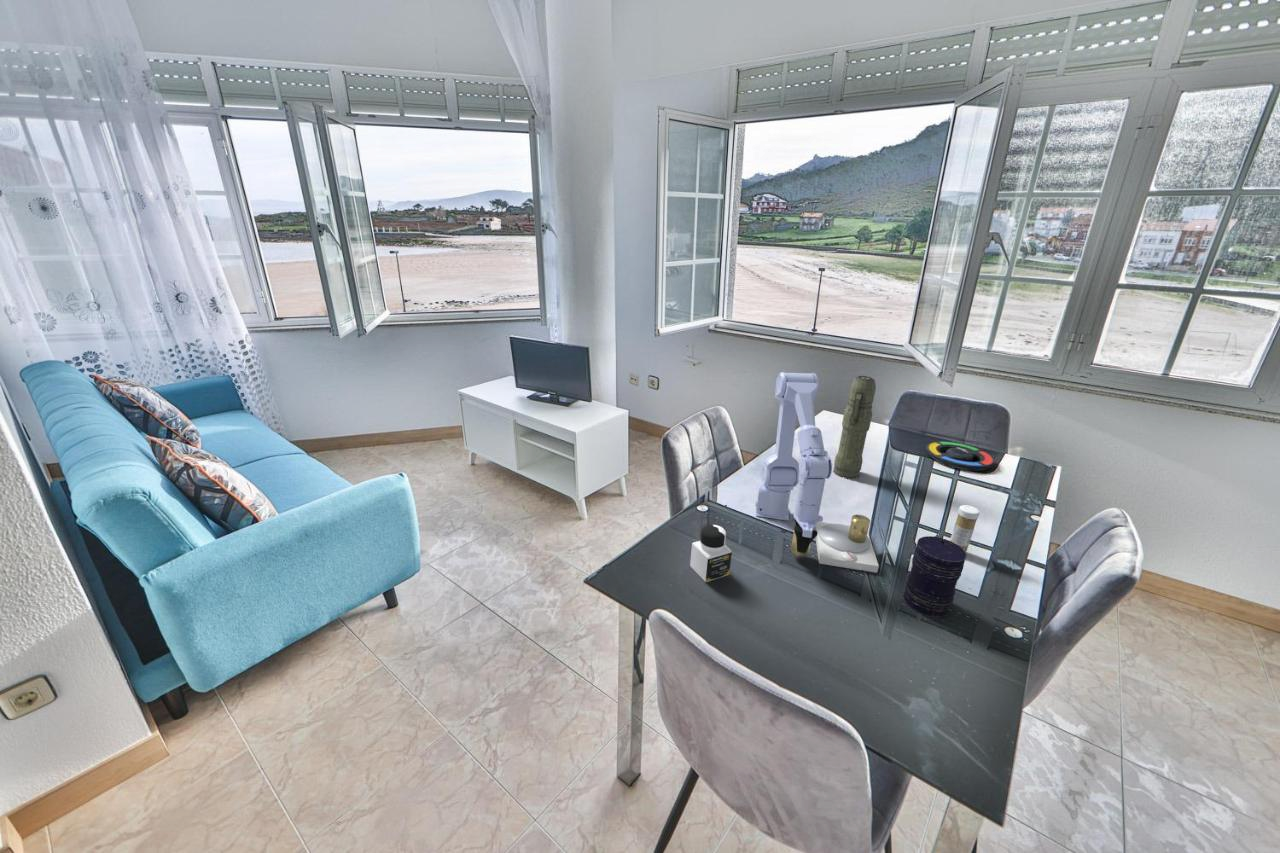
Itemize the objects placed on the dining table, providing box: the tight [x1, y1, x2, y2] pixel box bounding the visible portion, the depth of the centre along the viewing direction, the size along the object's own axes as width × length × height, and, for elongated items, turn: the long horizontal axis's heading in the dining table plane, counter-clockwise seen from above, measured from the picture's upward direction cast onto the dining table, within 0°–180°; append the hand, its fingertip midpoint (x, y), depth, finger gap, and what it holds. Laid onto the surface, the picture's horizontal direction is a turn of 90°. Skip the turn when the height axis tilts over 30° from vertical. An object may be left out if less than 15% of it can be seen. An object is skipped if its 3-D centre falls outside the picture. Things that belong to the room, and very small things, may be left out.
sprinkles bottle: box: [949, 504, 980, 553], centre depth 139 cm, size 5×5×14 cm
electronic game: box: [925, 440, 996, 472], centre depth 199 cm, size 23×23×5 cm
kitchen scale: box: [813, 521, 880, 574], centre depth 140 cm, size 14×18×3 cm
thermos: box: [832, 375, 877, 480], centre depth 179 cm, size 9×12×35 cm
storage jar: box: [902, 535, 967, 618], centre depth 119 cm, size 10×10×15 cm
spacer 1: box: [790, 526, 812, 557], centre depth 134 cm, size 4×4×6 cm
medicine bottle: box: [689, 524, 733, 583], centre depth 127 cm, size 7×7×12 cm
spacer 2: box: [848, 514, 871, 543], centre depth 139 cm, size 4×4×6 cm
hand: (800, 546), depth 135 cm, fingers closed on spacer 1, 4 cm apart
